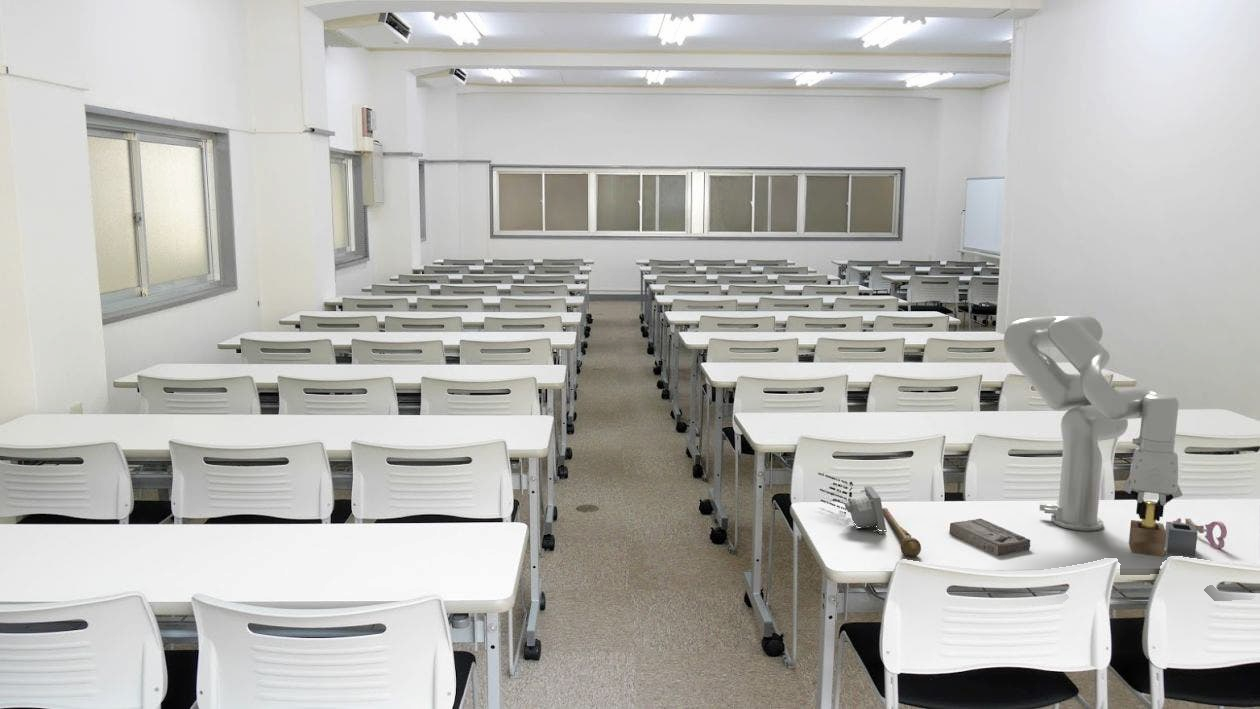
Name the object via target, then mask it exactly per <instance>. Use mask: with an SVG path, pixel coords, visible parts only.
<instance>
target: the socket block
mask: <svg viewBox="0 0 1260 709" xmlns="http://www.w3.org/2000/svg"><path fill="white" fill-rule="evenodd" d="M1183 523H1184V522H1182V523H1174V522H1172V521H1166V522H1165V531H1166V541H1165V551H1166V553H1167V554H1173V555H1181V556H1187V557H1189V556H1190V557H1196V553H1197V552H1196V550H1197V541H1198V535H1199V534H1198V533H1199V532H1198V531H1197V530H1196V528H1195V526H1194V525H1191V524H1183Z"/></svg>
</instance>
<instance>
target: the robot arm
mask: <svg viewBox="0 0 1260 709" xmlns="http://www.w3.org/2000/svg"><path fill="white" fill-rule="evenodd" d="M1103 334H1104V333H1103V327H1102V325H1101V324H1100V322H1099V321H1098V319H1096V318H1094V316H1091V315H1088V314H1087V315H1086V314H1085V315H1083V314H1082V315H1064V316H1063V315H1061V316H1060V315H1059V316H1058V315H1057V316H1054V315H1053V316H1039V317H1026V318H1020V319H1018V320H1014V321H1012V322H1011V323H1009V325H1008V326H1007V327H1006V328H1005V331H1004V335H1003V346H1004V347H1003V348H1004V350H1005V353H1006V355H1007V357H1008V360H1010V362H1011V363H1012V365H1013V366H1014V367H1015V368H1016V369H1017V371H1019V372H1020V373H1021V374H1022V375H1023V376H1024V377H1025V379H1026V380H1027V381H1028V383H1029V384H1030V385H1031V387H1033V389H1034V390H1035V391H1036V392H1037V394H1038V395H1039V396H1040V398H1042V400H1043V401H1044V402H1045V404H1047V406H1048V407H1049V408H1050V409H1052V410H1054V411H1056V412H1064V411H1065V413H1064V414H1063V416H1062V418H1061V421H1060V431H1061V432H1060V433H1061V438H1062V457H1061V459H1062V460H1061V471H1060V480H1059V481H1060V483H1059V496H1058V500H1057V501H1056V503H1053V504H1052V505H1051V504H1047V503H1041V502H1040V503H1039V511H1041V512H1044V514H1049V515H1050V514H1051V515H1050V521H1051V522H1052V523H1054V525H1057V526H1059V527H1061V528H1065V529H1070V530H1074V531H1083V532H1089V531H1090V532H1091V531H1092V532H1093V531H1099V530H1101V529H1103V527H1104V521H1103V520H1102V519H1101V518H1099V517H1098V514H1099V504H1100V503H1099V502H1100V490H1101V482H1102V481H1101V480H1102V470H1103V468H1102V467H1103V456H1102V452H1101V450H1100V447H1099V442H1102V441H1103V442H1104V441H1108V440H1109V441H1110V440H1113V439H1117V438H1120V437H1122V436H1123V435H1124V434H1125V433H1126V431H1127V430H1128V427H1129V426H1128V425H1129V422H1128V421H1129V420H1130V419H1131V420H1132V419H1134V420H1135V419H1141V420H1140V430H1139V436H1138V437H1136V438H1132V444H1133V445H1135V446H1137V447H1135V449H1134V452H1133V455H1132V459H1131V463H1130V464H1131V465H1130V471H1129V476H1128V478H1127V479H1126V480H1125V482H1124V483H1123V484H1122V486H1121V489H1122V490H1123V491H1124V492H1126V493H1128V494H1130V495H1131V496H1132V497H1133V498H1134V499H1135V500H1136V515H1138V518H1139V519H1140V520H1142V519H1143V517H1144V507H1145V504H1144V501H1145V500H1144V496H1145V493H1151V494H1158V500H1157V501H1155V502H1156V503H1158V504H1157V512H1156V522H1161V521H1160V519H1161V518H1163V517H1164V516H1163V515H1164V510H1165V509H1164V507H1165V506H1166V504H1167V503H1169V502H1171V500H1173V499H1177V498H1180V497H1182V496H1183V492H1182V490H1181V488H1180V486H1179V484H1178V482H1179V481H1178V480H1179V456H1178V453H1177V452H1176V451H1175V442H1176V433H1177V425H1178V424H1177V423H1178V414H1179V404H1180V403H1179V400H1178V399H1177V397H1176V396H1173V395H1170V394H1166V393H1158V392H1155V391H1153V390H1151V389H1149V388H1145V387H1141V386H1140V387H1138V386H1137V387H1129V388H1128V387H1127V388H1120V389H1116V388H1114V387H1113V386H1112V384H1111V383H1109V381H1108V380H1107V379H1106V378H1105V376H1104V375H1103V373H1102V370H1103V369H1104V368H1105V367H1106V366H1107V365H1108V363H1109V361H1110V358H1111V357H1110V352H1109V351H1108V350H1107V349H1106V348H1105V347H1104V346H1103V345H1102V344H1101V343H1100V341H1101V340H1102V338H1103ZM1043 348H1045V349H1046V348H1056V349H1057V350H1058V351H1059V352H1060V353H1061V354H1062V355H1063V357H1065V359H1066V360H1067V361H1068V362H1069V363H1070V364H1071V365H1072V366H1073V368H1075V369H1076V370H1077V372H1078V373H1071V374H1070V373H1066V371H1064V370H1063V369H1062V368H1061V367H1060V366H1059V365H1058V364H1057V362H1056V361H1055V360H1054V359H1053V358H1052V357H1051V356H1049V355H1048V354H1046V353H1045V352H1043V351H1042V350H1040V349H1043Z"/></svg>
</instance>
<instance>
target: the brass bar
mask: <svg viewBox="0 0 1260 709" xmlns="http://www.w3.org/2000/svg"><path fill="white" fill-rule="evenodd" d="M1156 502H1157V501H1152V500H1144V504H1145V507H1144V517H1143V519H1141V521H1142V523H1141V528H1144V529H1152V530H1155V524H1156V523H1157V520H1156V512H1157V504H1158V503H1156Z"/></svg>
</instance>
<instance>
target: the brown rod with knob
mask: <svg viewBox="0 0 1260 709" xmlns="http://www.w3.org/2000/svg"><path fill="white" fill-rule="evenodd" d="M882 509H883V515H884V517H885V518H886V520H887V521H888V522H889V524H890V525H891V526H892V528H893V529H894V530H895V532H896V533H897V535H898V537H899V538H900V540H901V542H902V543H901V544H900V551H901V553H902V554H903V555H904V556H906V557H908V558H915V557H917V556H919V554H920V553H921V551H922V545H921V542H920V541H919V540H918V539H916V538H914V537H912V535H911V534H910V533H909V532H908V531H907V530H905V528H904V527H902V526H900V525H899V523H898V522H897V521H896V520H895V518H894V517H893V515H892V514H891V512H890V511H889V509H888V507H882Z"/></svg>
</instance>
